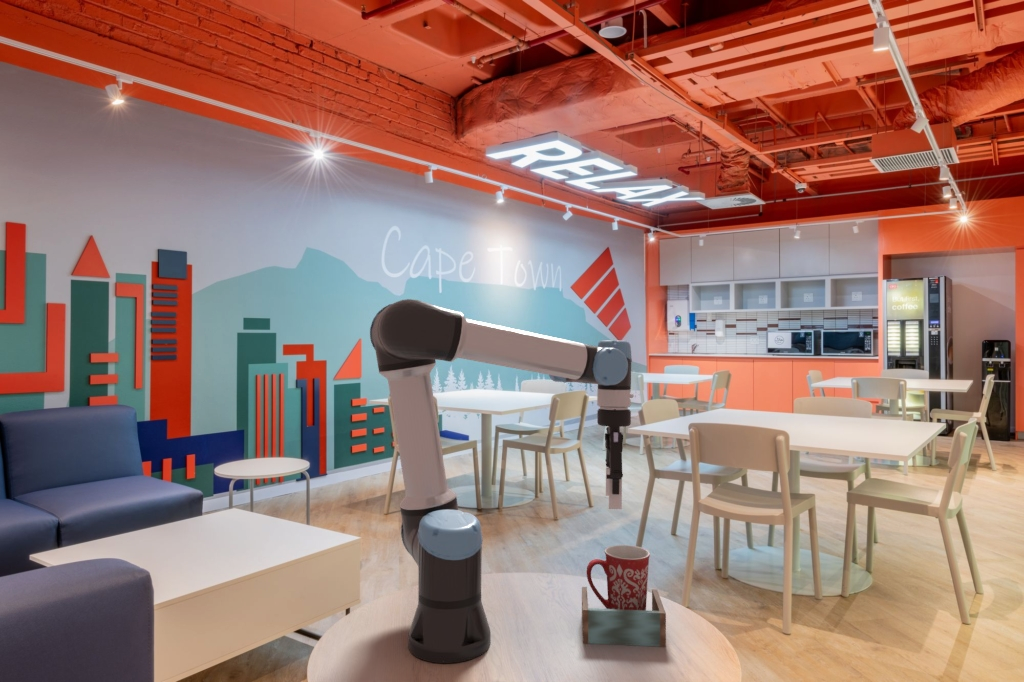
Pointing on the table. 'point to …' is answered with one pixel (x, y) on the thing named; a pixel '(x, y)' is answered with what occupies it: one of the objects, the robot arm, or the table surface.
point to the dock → (624, 624)
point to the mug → (623, 577)
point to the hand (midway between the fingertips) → (613, 502)
